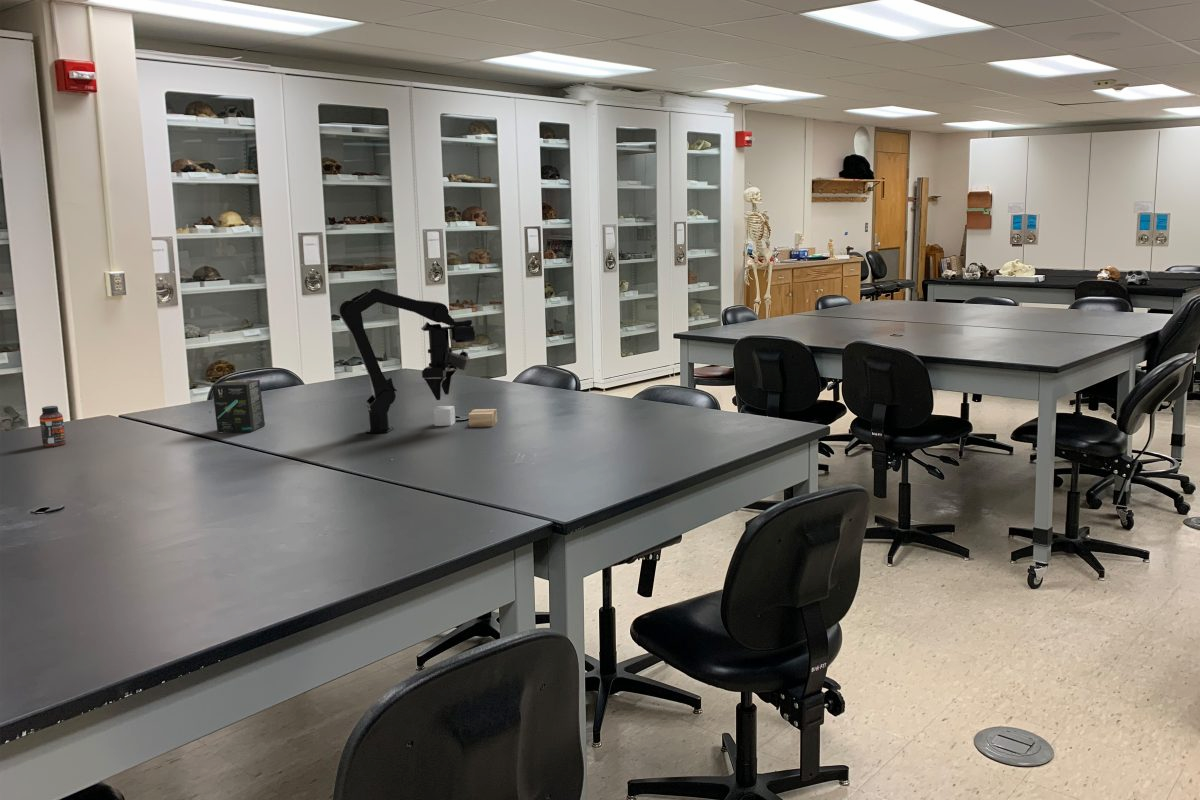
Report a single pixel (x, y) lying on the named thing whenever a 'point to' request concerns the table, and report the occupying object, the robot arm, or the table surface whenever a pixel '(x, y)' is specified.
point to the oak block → (482, 417)
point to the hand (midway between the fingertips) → (442, 397)
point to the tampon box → (238, 406)
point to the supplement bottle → (52, 427)
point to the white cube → (444, 415)
